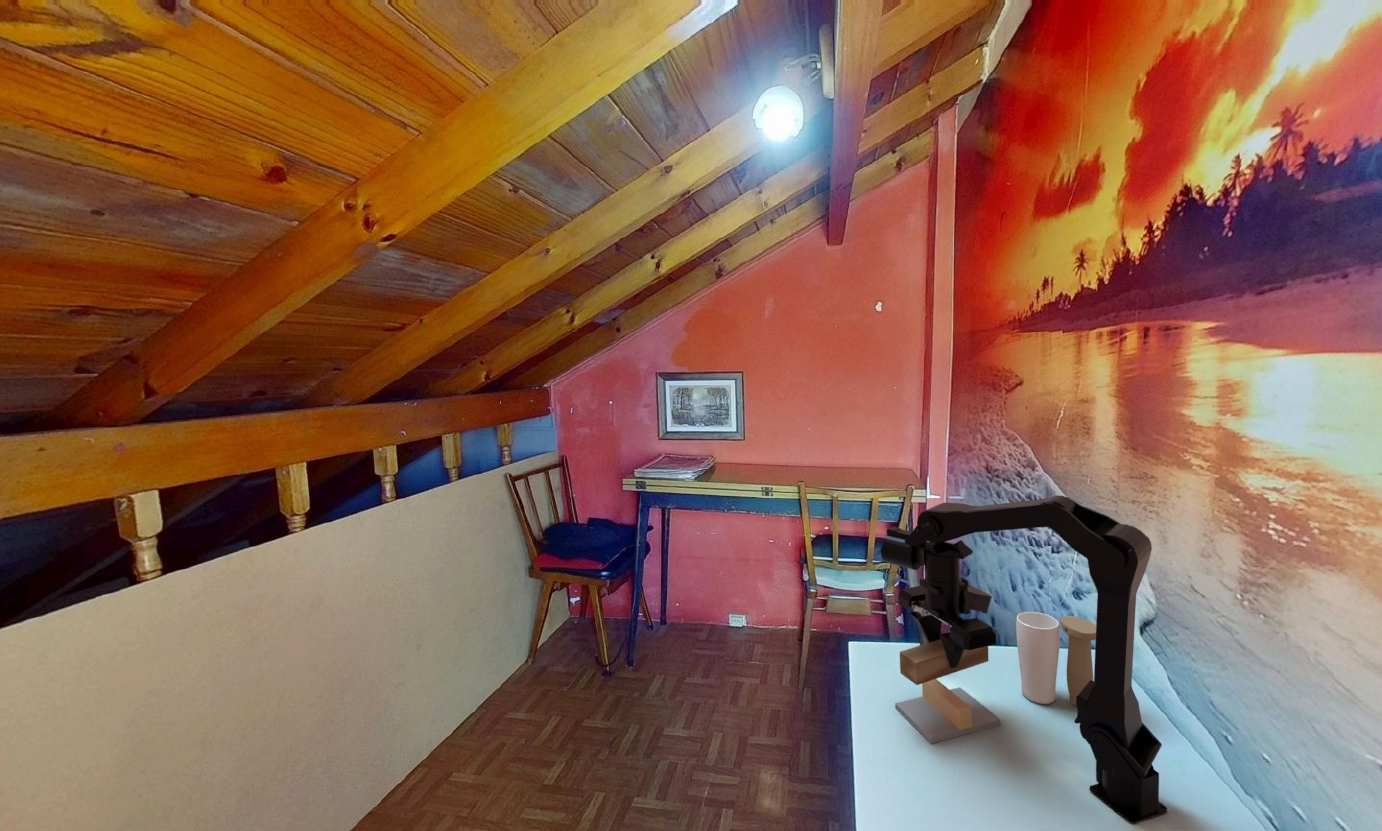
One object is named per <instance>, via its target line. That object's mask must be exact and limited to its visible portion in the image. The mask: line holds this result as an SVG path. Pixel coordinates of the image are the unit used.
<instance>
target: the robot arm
mask: <svg viewBox="0 0 1382 831" xmlns="http://www.w3.org/2000/svg"><path fill="white" fill-rule="evenodd" d="M916 522H917V525H915V528H914V529H913V530H912V531H910V530H906V529H902V528H900V527H896V526H892V527H889V528H888V529H886V535H885V537H884V539H883V541H882V546H881V547H880V556H881V559H882V560H883V561H884V563H886V564H891V565H895V566H898V567H902V568H906V569H907V568H909V569H912V570H917V569H918V570H919V568H921V567H923V566H924V567H923V568H924V578H919V581H920V586H916V587H911V588H909V587H905V588H902V589H901V590H900V591H899V593H898V594H897V599H898V605H900V606H901V607H902V608H904V609H905V610H910V609H912V608H911V607H912V605H913V606H914V611H912V612H911V611H910V617H912V618H913V620H914V622H915V623H916V625H917V626H918V629H920V630H921V632H922V634H923V636H924V638H925V639H926V641H927V643H930V642H933V641H936V640H940V639H941V640H942V643H943V647H944V650H945V653H946V656H947V659H948V662H949V665H950V667H951V668H956V667H957V666H958V663H959V661H960V659H961V656H962V654H963V651H964V649H965V650H973V649H977V648H982V647H986V646H988V647H989V646H994V645H997V640H998V639H997V630H996V629H995V628H994V627H992V626H991V625H989V624H988V623H986V622H984V621H983V620H981V619H979V618H977V617H974V618H970V619H968V618H963V617H961V614H963V615H970V614H971V611H977V612H980V613H982V614H988V613H989V609H990V604H991V601H992V598H993V596H992V595H990V594H989V593H987V592H985V591H983V590H982V589H979V588H977V587H974V586H972V585H971V584H969V583H970V582H969V580H968V579H967V578H965V577H963V576H961V560H964V559H966V558H968V557H969V556H972V555H973V554H974V551H973V549H971V548H970V547H969V546H968V545H967V544H965V542H964V541H963V540H958V541H957V542H955V543H953V542H950V541H952V540H956V539H958V538H962V537H964V536H967V535H971V534H974V533H982V532H983V533H985V532H996V531H999V532H1000V531H1009V530H1011V531H1012V530H1023V529H1025V530H1026V529H1035V528H1048V529H1050V530H1052V531H1054V532H1056V534H1057V535H1058V536H1059V537H1060V538H1061V539H1062V540H1063V541H1064V542H1065V543H1066V544H1067V545H1068V546H1069V547H1070V548H1071V549H1072V550H1074V551H1075V552H1076V553H1078V554H1080V555H1081V556H1082V557H1084V558H1086V559H1087V566H1088V571H1089V576H1090V578H1091V580H1092V582H1093V585H1094V587H1095V590H1096V593H1097V598H1096V599H1097V600H1096V620H1095V621H1096V624H1095V625H1096V640H1095V646H1094V647H1095V648H1094V668H1093V669H1094V670H1093V681H1092V680H1089V682H1088V683H1087V684H1086V685H1085V687H1084V688H1083V689H1082V690H1081V691H1080V693H1079V694H1078V695H1077V696H1076V704H1077V705H1076V709H1077V711H1076V712H1077V715H1076V717H1075V719H1074V724H1079V733H1080V736H1081V737H1082V738H1083V739H1084V740H1085V741H1086V742H1087V744H1088V745H1089V746H1090V748H1091V752H1092V753H1093V754H1092V755H1093V757H1094V759H1095V780H1096V782H1097V783H1095V784H1091V785H1090V786H1089V792H1091V793H1092V794H1093V795H1094V796H1096V797H1097V798H1099V800H1101V801H1102V802H1103V803H1104V804H1106V805H1107V806H1109V807H1110V809H1112V810H1113V811H1114V812H1116V813H1117V814H1118V815H1120V816H1121V817H1122V818H1123V819H1125V820H1126V821H1127V822H1128V823H1130V824H1138V823H1141V822H1145V821H1147V820H1150V819H1152V818H1155V817H1158V816H1161V815H1164V814H1166V813H1168V807H1167V806H1166V805H1165V804H1163V803H1161V802H1160V801H1159V798H1160V796H1159V795H1160V772H1158V771H1157V770H1155V768H1154V765H1153V763H1154V761H1155V759H1156V757H1157V755H1158V754H1159V752H1160V750H1161V748H1162V746H1163V744H1162V743H1161V741H1160V740H1159V739H1158V738H1157V737H1156V736H1155V735H1154V734H1153V732H1151V731H1150V729H1149V728H1148V727H1147V725H1146V724H1144V723H1143V721H1142V715H1141V709H1140V704H1139V701H1138V698H1137V696H1136V693H1135V692H1134V690H1133V685H1132V684H1133V662H1134V644H1135V642H1134V640H1135V626H1136V625H1135V623H1136V622H1135V620H1136V602H1137V592H1138V590H1139V587H1140V585H1141V583H1142V580H1143V577H1144V575H1145V572H1146V571H1147V566H1148V563H1149V561H1150V557H1151V555H1152V554H1151V553H1152V551H1153V550H1152V549H1153V548H1152V547H1153V546H1152V542H1151V539H1150V537H1149V536H1147V535H1146V534H1145V533H1144V532H1143V531H1142V530H1141V529H1138V528H1136V527H1135V526H1132V525H1129V524H1123V523H1121V522H1118V521H1117V520H1115V519H1113V518H1112V517H1110V516H1109V515H1106V514H1104V513H1101V512H1099V511H1097V510H1093V509H1091V508H1089V507H1086V506H1084V505H1081V504H1080V503H1078V502H1076V501H1075V500H1073V499H1071V498H1069V497H1067V496H1064V495H1053V496H1051V497H1048V498H1039V499H1031V500H1022V501H1021V500H1020V501H1012V502H1003V503H995V504H994V503H993V504H987V505H986V504H985V505H979V506H978V505H969V504H965V503H963V502H962V503H960V502H942V503H939V504H937V505H934V506H932V507H929V508H927V509H925V510H923V511H921V512H920V513H919V515H918V518H917V521H916ZM942 624H945V625H947V626H949V627H950V628H949V630H948V632H943V633H942Z"/></svg>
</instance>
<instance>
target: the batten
mask: <svg viewBox="0 0 1382 831" xmlns="http://www.w3.org/2000/svg"><path fill="white" fill-rule="evenodd" d="M919 645H920V644H919ZM919 645H917V646H914V647H911V648H908V649H904V650H901V651H899V668H900V669H899V670H900V672H899V673H900V674H901V675H902V676H903V677H905V678H906V679H908V680H909V681H910V682H912V683H913V684H915V685H916V686H919V685H922V683H925V682H928V681H931V680H934V679H937V680H938V679H940V678H943V677H946V676H949V675H951V674H955V673H958V672H960V671H964V670H966V669H969V668H973V667H975V666H978V665H982V664H984V663H987V662H989V646H986V647H982V648H977V649H973V650H965V649H964V651H963V654H962V656H961V659H960V661H959V663H958V666H957V667H956V668H951V667H950V665H949V662H948V659H947V656H946V653H945V650H944V647H943V643H942V640H941V639H940V640H936V641H933V642H930V643H927V644H923V645H920V646H919Z"/></svg>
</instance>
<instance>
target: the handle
mask: <svg viewBox="0 0 1382 831" xmlns="http://www.w3.org/2000/svg"><path fill="white" fill-rule="evenodd" d="M1059 619H1060V620H1059V625H1060V626H1061V629H1062V630H1063V632H1064V633H1065V634H1066V635H1067V636H1068V638H1067V639H1068V644H1067V659H1066V661H1067V662H1066V685H1067V690H1068V694H1069V703H1071V705H1073V706H1077V704H1076V696H1077V695H1078V694H1079V693H1080V691H1081V690H1082V689H1083V688H1084V687H1085V685H1086V684H1087V683H1088V682H1089V680H1092V681H1094V670H1093V669H1094V668H1093V667H1094V666H1093V655H1092V641H1096V624H1095V623H1093V622H1092V621H1090V620H1087V619H1085V618H1083V617H1079V616H1074V615H1067V616H1066V615H1065V616H1062V617H1060V618H1059Z"/></svg>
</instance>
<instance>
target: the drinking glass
mask: <svg viewBox="0 0 1382 831" xmlns="http://www.w3.org/2000/svg"><path fill="white" fill-rule="evenodd" d="M1015 627H1016V629H1015V630H1016V631H1015V632H1016V644H1017V655H1018V662H1019V670H1020V680H1021V681H1020V682H1021V693H1022V695H1023V696H1024V697H1025V698H1027V700H1029V701H1030V702H1033V703H1036V704H1042V705H1047V704H1052V703H1053V702H1054V701H1055V700H1056V698H1057V697H1056V690H1057V689H1056V687H1057V686H1056V685H1057V676H1058V667H1059V658H1060V657H1059V655H1060V649H1061V648H1060V645H1061V635H1060V621H1058V620H1057V618H1055V617H1053V616H1051V615H1049V614H1046V613H1042V612H1036V611H1024V612H1021V613H1018V614H1017V616H1016V626H1015Z"/></svg>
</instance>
